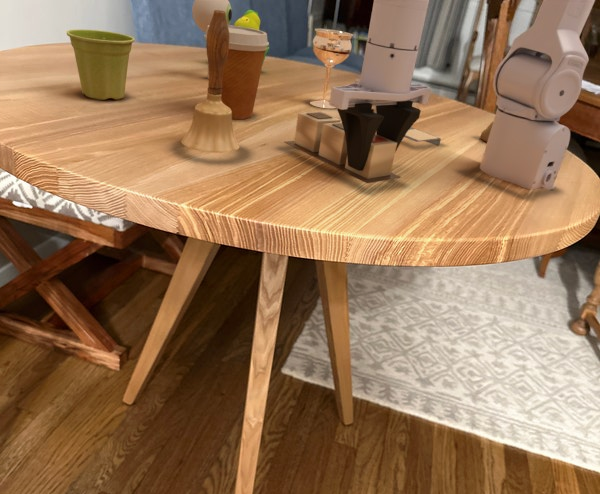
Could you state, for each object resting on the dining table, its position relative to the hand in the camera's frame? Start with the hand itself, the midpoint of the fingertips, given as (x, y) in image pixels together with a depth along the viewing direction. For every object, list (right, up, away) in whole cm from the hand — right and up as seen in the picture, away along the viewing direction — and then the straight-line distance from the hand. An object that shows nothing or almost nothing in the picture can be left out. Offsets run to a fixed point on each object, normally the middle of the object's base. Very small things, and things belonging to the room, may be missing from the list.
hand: (368, 165), depth 69 cm
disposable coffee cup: (-19, +13, +19) cm, 30 cm away
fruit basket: (-21, +33, +53) cm, 66 cm away
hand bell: (-20, +2, +3) cm, 20 cm away
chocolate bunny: (+26, +9, +25) cm, 37 cm away
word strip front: (-3, +1, +4) cm, 5 cm away
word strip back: (+7, +11, +23) cm, 26 cm away
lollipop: (-26, +26, +40) cm, 54 cm away
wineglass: (-4, +19, +33) cm, 38 cm away
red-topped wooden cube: (0, -1, 0) cm, 1 cm away
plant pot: (-39, +15, +19) cm, 46 cm away
